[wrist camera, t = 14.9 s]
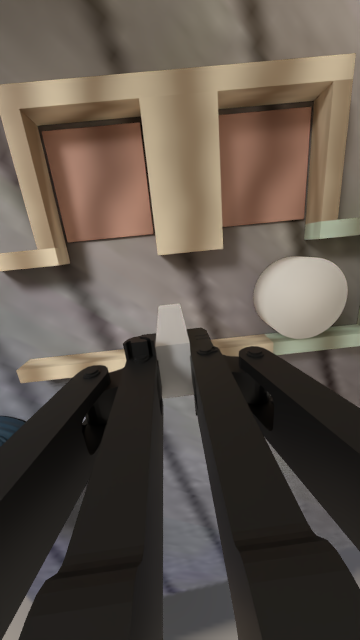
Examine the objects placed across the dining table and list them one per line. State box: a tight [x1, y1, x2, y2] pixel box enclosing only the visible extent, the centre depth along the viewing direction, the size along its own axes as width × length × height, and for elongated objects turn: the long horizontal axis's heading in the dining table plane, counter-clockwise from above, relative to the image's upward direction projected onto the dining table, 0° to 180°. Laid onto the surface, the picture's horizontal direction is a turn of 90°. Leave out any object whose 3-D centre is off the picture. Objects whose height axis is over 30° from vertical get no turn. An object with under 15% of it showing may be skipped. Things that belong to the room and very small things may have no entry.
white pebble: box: [253, 256, 348, 339], centre depth 23 cm, size 8×8×4 cm
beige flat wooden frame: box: [0, 53, 360, 383], centre depth 21 cm, size 40×24×4 cm, turn 96°
